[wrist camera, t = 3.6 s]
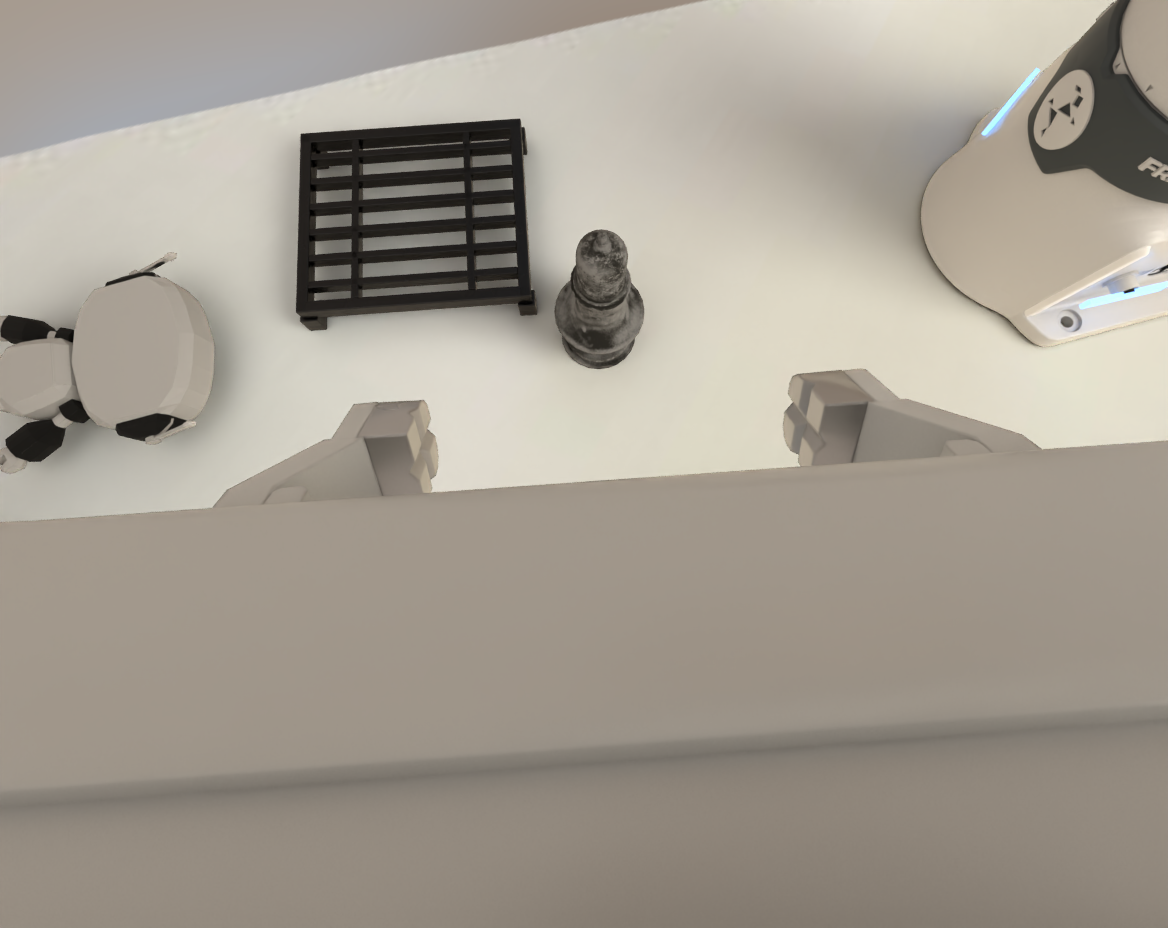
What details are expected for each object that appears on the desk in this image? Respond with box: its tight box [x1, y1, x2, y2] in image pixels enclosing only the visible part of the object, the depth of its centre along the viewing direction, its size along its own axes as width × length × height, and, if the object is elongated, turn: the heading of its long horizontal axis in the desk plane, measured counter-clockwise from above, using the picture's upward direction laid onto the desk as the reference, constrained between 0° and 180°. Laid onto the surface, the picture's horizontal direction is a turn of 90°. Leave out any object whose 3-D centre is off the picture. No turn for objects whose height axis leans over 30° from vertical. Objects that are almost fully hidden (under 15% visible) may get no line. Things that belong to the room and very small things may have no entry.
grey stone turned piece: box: [555, 230, 644, 369], centre depth 34 cm, size 6×6×12 cm
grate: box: [296, 119, 537, 331], centre depth 40 cm, size 16×14×2 cm
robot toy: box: [0, 252, 215, 474], centre depth 38 cm, size 12×4×15 cm
